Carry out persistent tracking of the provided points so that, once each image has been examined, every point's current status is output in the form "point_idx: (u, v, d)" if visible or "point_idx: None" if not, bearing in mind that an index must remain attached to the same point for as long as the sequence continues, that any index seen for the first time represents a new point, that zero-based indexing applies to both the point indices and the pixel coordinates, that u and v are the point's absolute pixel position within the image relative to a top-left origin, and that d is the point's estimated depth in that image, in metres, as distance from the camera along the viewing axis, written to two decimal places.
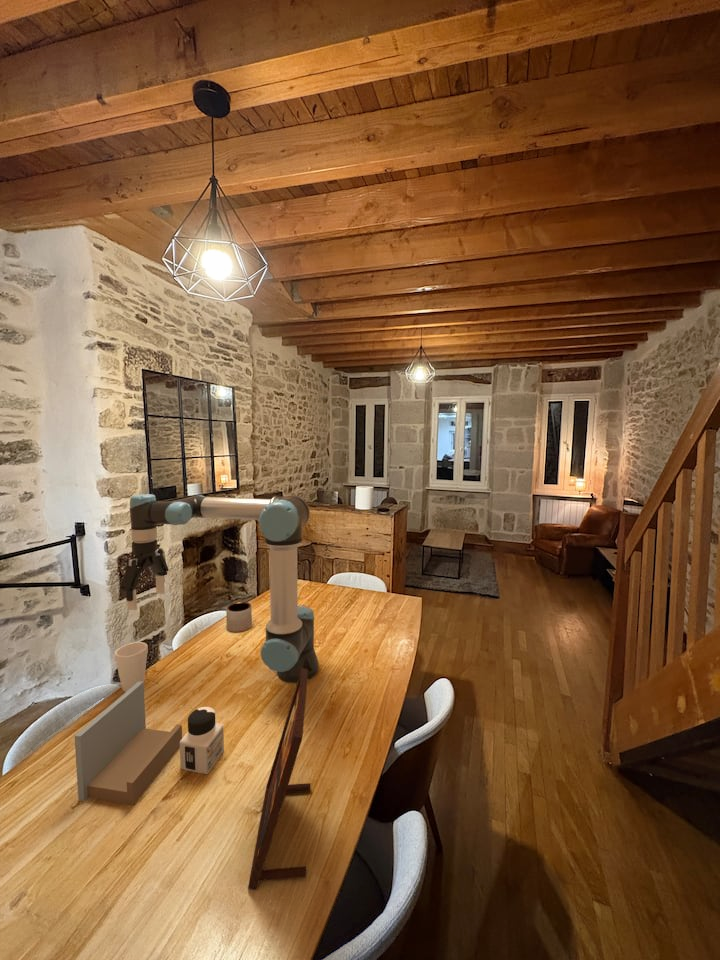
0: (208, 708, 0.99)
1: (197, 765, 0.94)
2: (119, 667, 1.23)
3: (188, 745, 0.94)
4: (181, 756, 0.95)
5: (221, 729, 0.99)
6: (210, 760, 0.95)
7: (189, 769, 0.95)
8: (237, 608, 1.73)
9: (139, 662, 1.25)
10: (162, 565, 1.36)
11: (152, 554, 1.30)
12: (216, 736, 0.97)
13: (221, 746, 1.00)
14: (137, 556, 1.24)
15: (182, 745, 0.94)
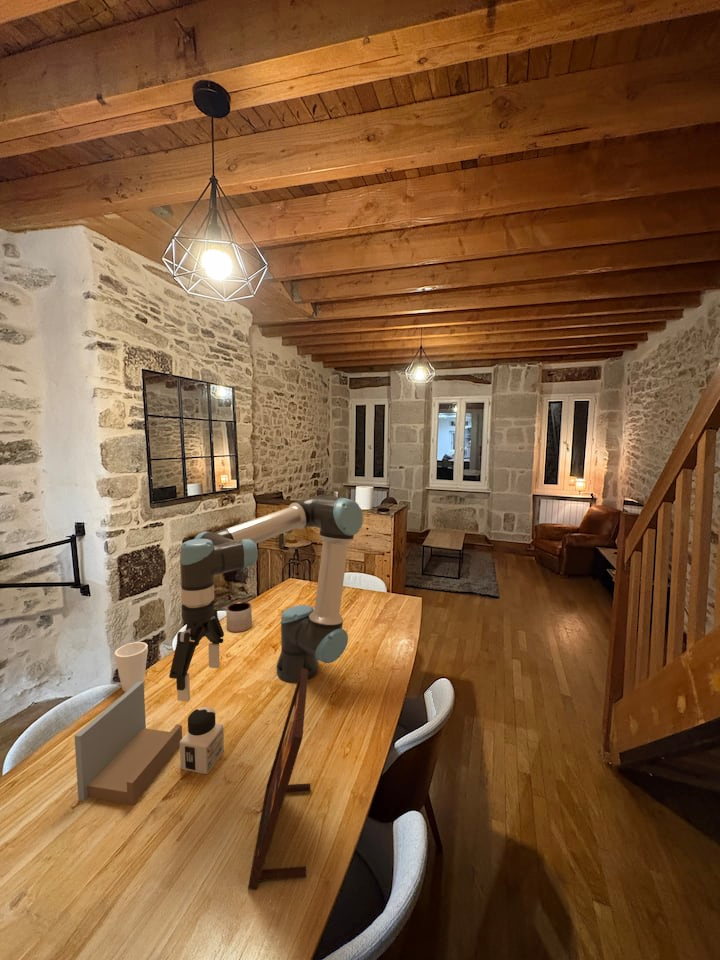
0: (208, 708, 0.99)
1: (197, 765, 0.94)
2: (119, 667, 1.23)
3: (188, 745, 0.94)
4: (181, 756, 0.95)
5: (221, 729, 0.99)
6: (210, 760, 0.95)
7: (189, 769, 0.95)
8: (237, 608, 1.73)
9: (139, 662, 1.25)
10: (217, 630, 1.03)
11: (207, 619, 0.97)
12: (216, 736, 0.97)
13: (221, 746, 1.00)
14: (190, 626, 0.91)
15: (182, 745, 0.94)
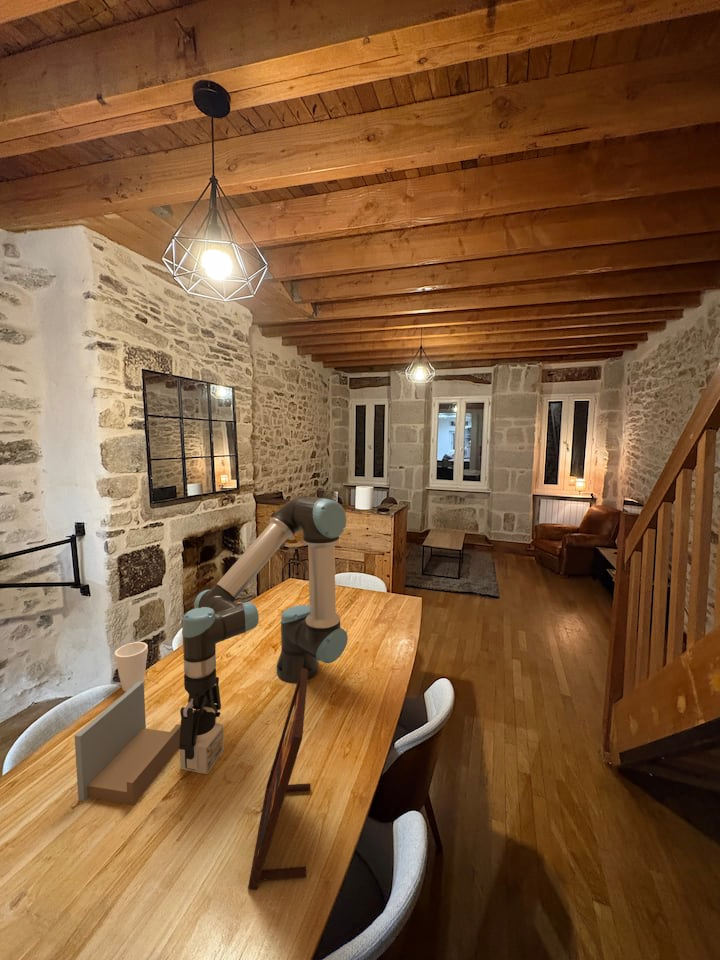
0: (208, 708, 0.99)
1: None
2: (119, 667, 1.23)
3: None
4: (181, 756, 0.95)
5: (221, 729, 0.99)
6: (209, 760, 0.95)
7: (189, 769, 0.94)
8: None
9: (139, 662, 1.25)
10: (215, 700, 1.03)
11: None
12: (216, 736, 0.97)
13: (221, 746, 1.00)
14: (192, 696, 0.93)
15: None
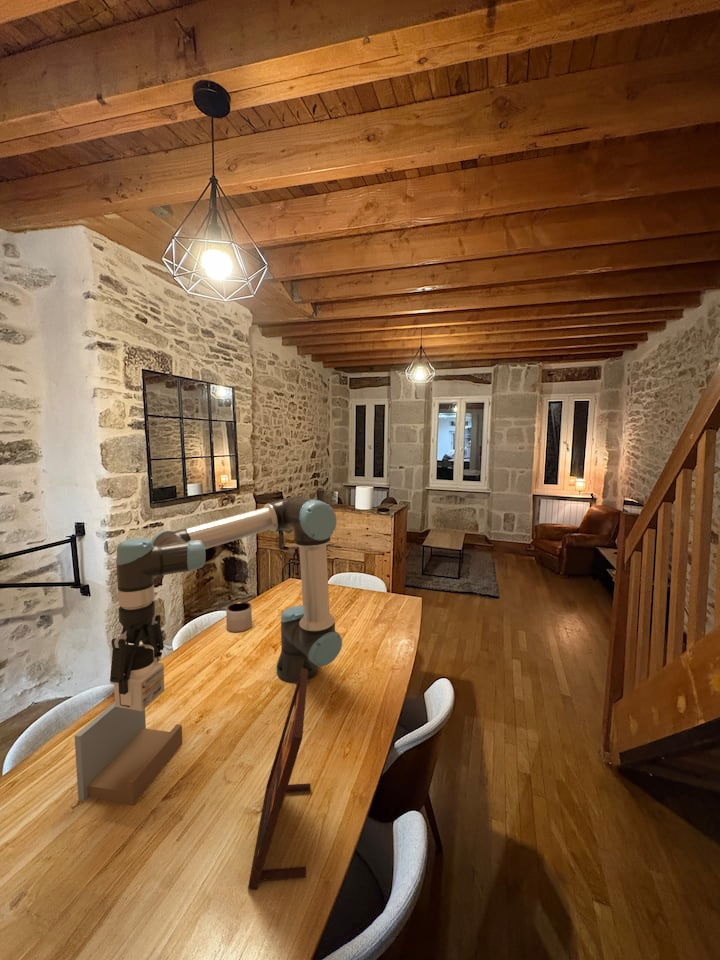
0: (147, 645, 0.94)
1: None
2: None
3: None
4: (115, 693, 0.90)
5: (160, 667, 0.95)
6: (145, 697, 0.90)
7: (123, 706, 0.90)
8: (237, 608, 1.73)
9: None
10: (157, 640, 0.98)
11: None
12: (153, 673, 0.92)
13: (160, 685, 0.95)
14: (126, 628, 0.88)
15: None
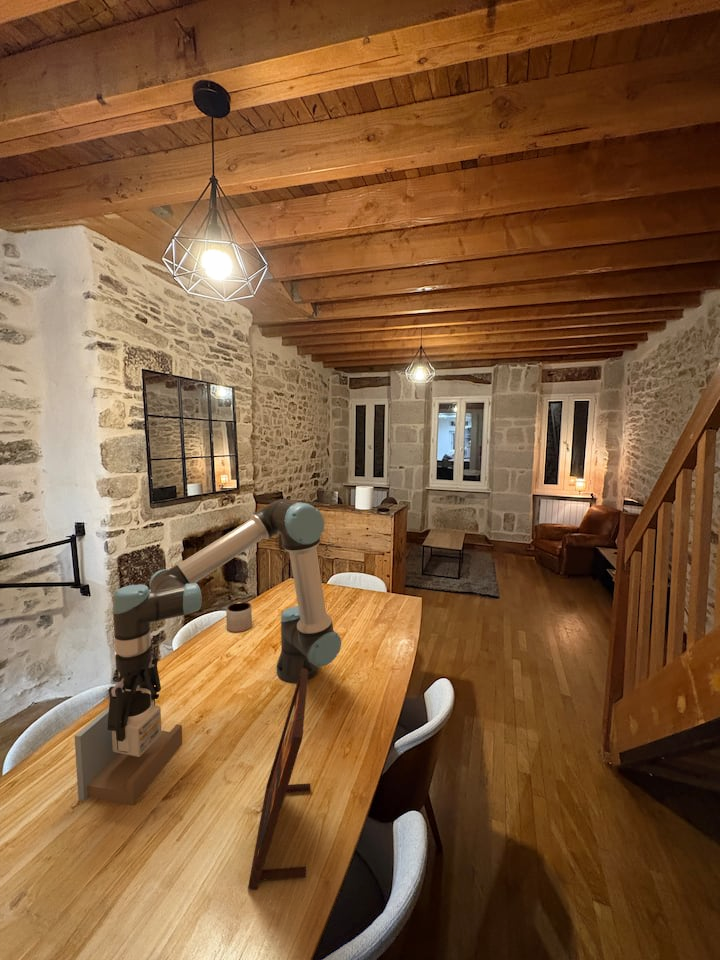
0: (144, 689, 0.95)
1: None
2: None
3: None
4: (113, 738, 0.91)
5: (157, 711, 0.96)
6: (142, 742, 0.91)
7: (121, 752, 0.91)
8: (237, 608, 1.73)
9: None
10: (154, 682, 0.99)
11: None
12: (150, 718, 0.93)
13: (158, 729, 0.96)
14: (123, 676, 0.89)
15: None
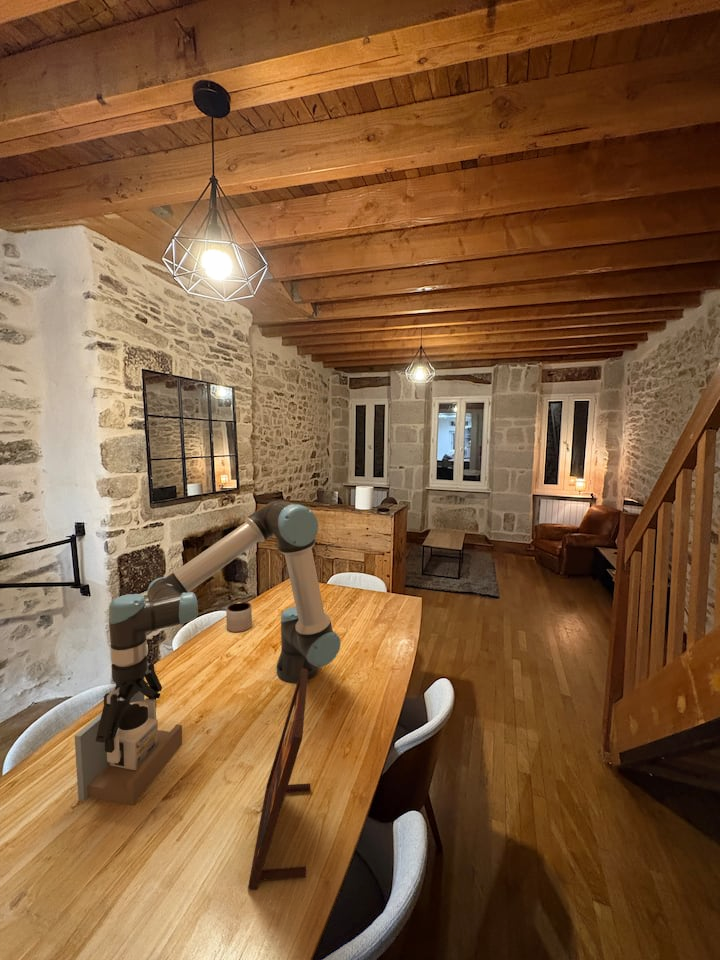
0: (141, 703, 0.96)
1: (126, 761, 0.91)
2: None
3: None
4: None
5: (155, 724, 0.97)
6: (139, 756, 0.92)
7: (118, 765, 0.92)
8: (237, 608, 1.73)
9: None
10: (154, 684, 1.01)
11: None
12: (148, 731, 0.94)
13: (154, 742, 0.97)
14: (119, 685, 0.90)
15: None
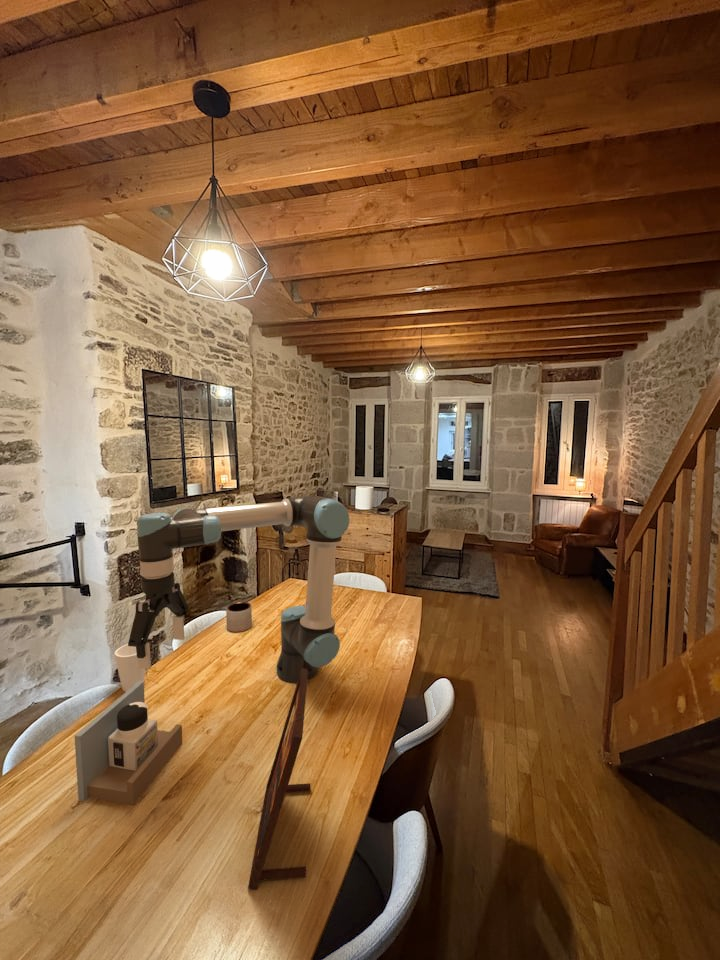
0: (141, 703, 0.96)
1: (125, 762, 0.91)
2: (119, 667, 1.23)
3: (116, 741, 0.91)
4: (109, 753, 0.92)
5: (154, 725, 0.97)
6: (139, 757, 0.92)
7: (118, 766, 0.92)
8: (237, 608, 1.73)
9: None
10: (180, 603, 1.05)
11: (168, 591, 0.99)
12: (147, 731, 0.94)
13: (154, 742, 0.97)
14: (149, 597, 0.93)
15: (110, 741, 0.91)
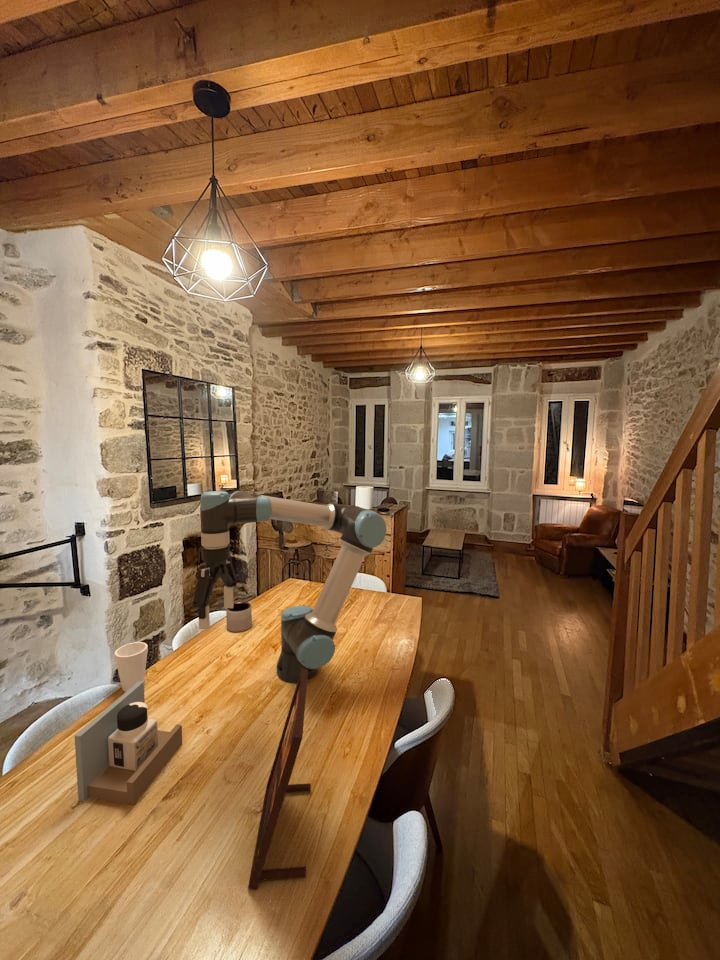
0: (141, 703, 0.96)
1: (125, 762, 0.91)
2: (119, 667, 1.23)
3: (116, 741, 0.91)
4: (109, 753, 0.92)
5: (154, 725, 0.97)
6: (139, 757, 0.92)
7: (118, 766, 0.92)
8: (237, 608, 1.73)
9: (139, 662, 1.25)
10: (231, 574, 1.16)
11: (223, 562, 1.10)
12: (147, 732, 0.94)
13: (154, 742, 0.97)
14: (209, 565, 1.04)
15: (110, 741, 0.91)
